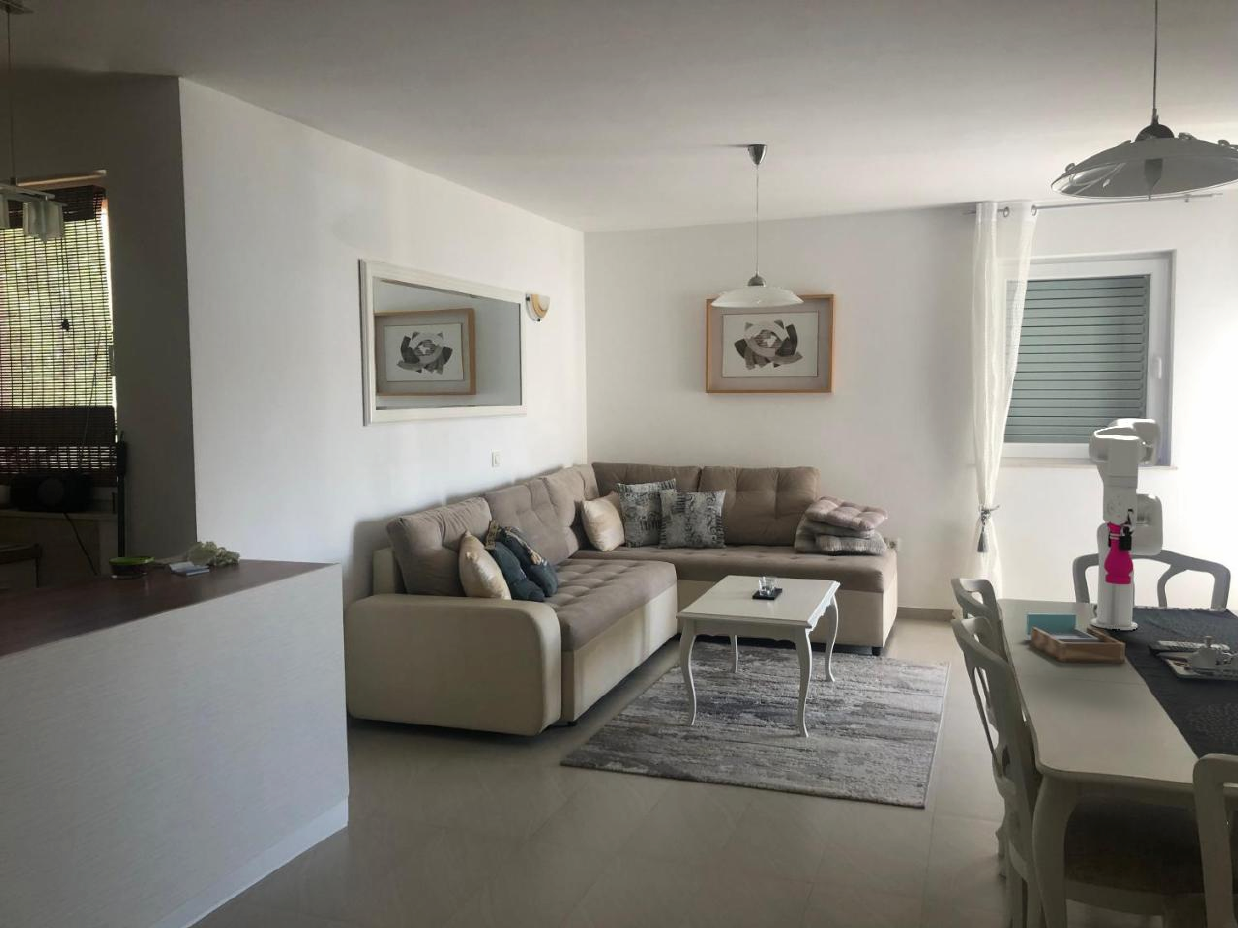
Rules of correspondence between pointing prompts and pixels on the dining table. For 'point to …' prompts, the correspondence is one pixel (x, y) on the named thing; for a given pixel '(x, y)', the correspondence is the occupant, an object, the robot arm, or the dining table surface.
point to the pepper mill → (1117, 559)
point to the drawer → (1058, 627)
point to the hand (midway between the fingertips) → (1119, 548)
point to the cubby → (1080, 648)
